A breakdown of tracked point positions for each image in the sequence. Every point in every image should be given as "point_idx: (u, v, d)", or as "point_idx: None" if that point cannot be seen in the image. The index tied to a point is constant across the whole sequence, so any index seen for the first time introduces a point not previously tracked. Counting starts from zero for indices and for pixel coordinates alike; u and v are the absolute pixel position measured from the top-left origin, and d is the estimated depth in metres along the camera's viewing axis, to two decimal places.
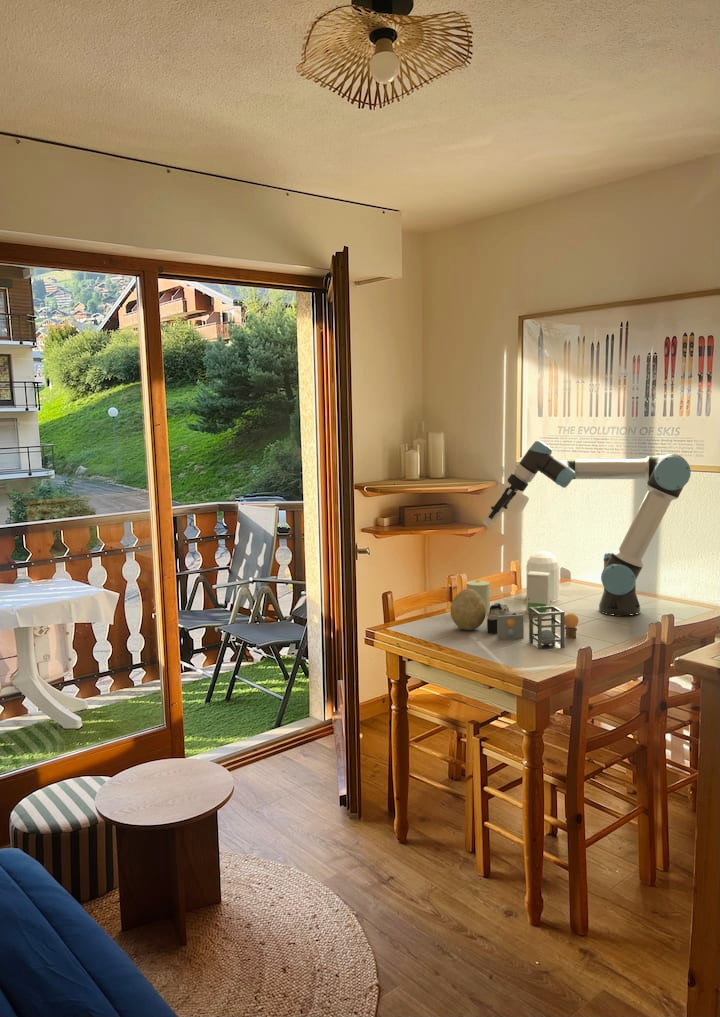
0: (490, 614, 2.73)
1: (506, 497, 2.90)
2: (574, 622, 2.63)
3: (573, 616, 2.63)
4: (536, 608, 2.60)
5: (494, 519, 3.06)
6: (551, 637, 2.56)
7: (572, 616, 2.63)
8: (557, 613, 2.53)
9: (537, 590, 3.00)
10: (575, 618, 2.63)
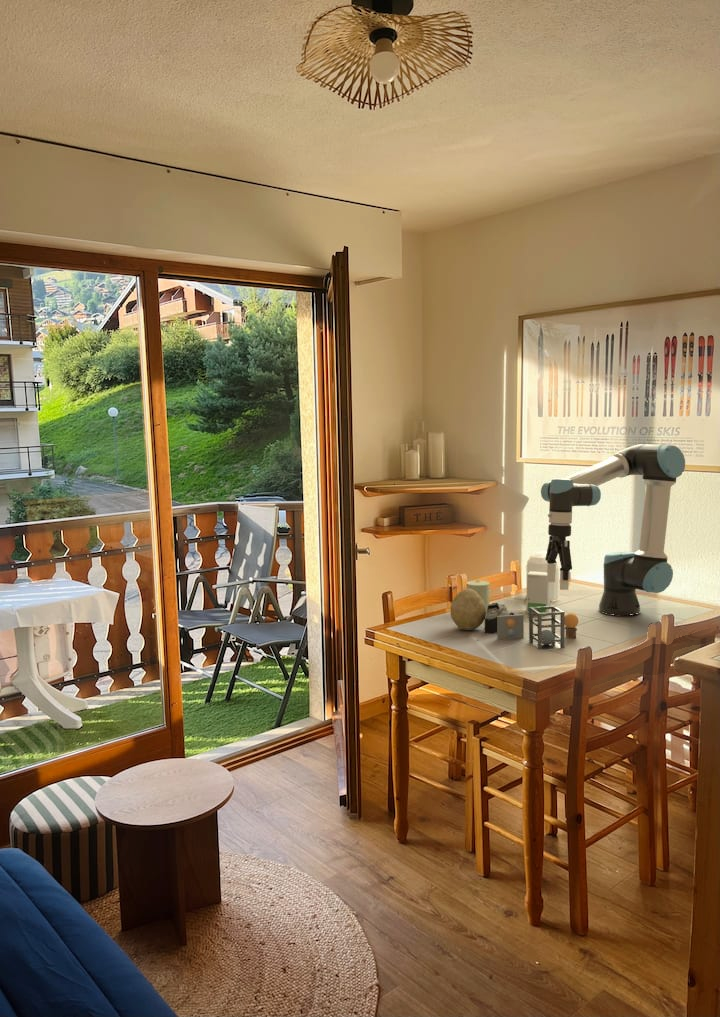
0: (487, 613, 2.74)
1: (567, 550, 2.58)
2: (574, 622, 2.63)
3: (573, 616, 2.63)
4: (536, 608, 2.60)
5: (553, 579, 2.73)
6: (551, 637, 2.56)
7: (572, 616, 2.63)
8: (557, 613, 2.53)
9: (538, 590, 3.00)
10: (575, 618, 2.63)
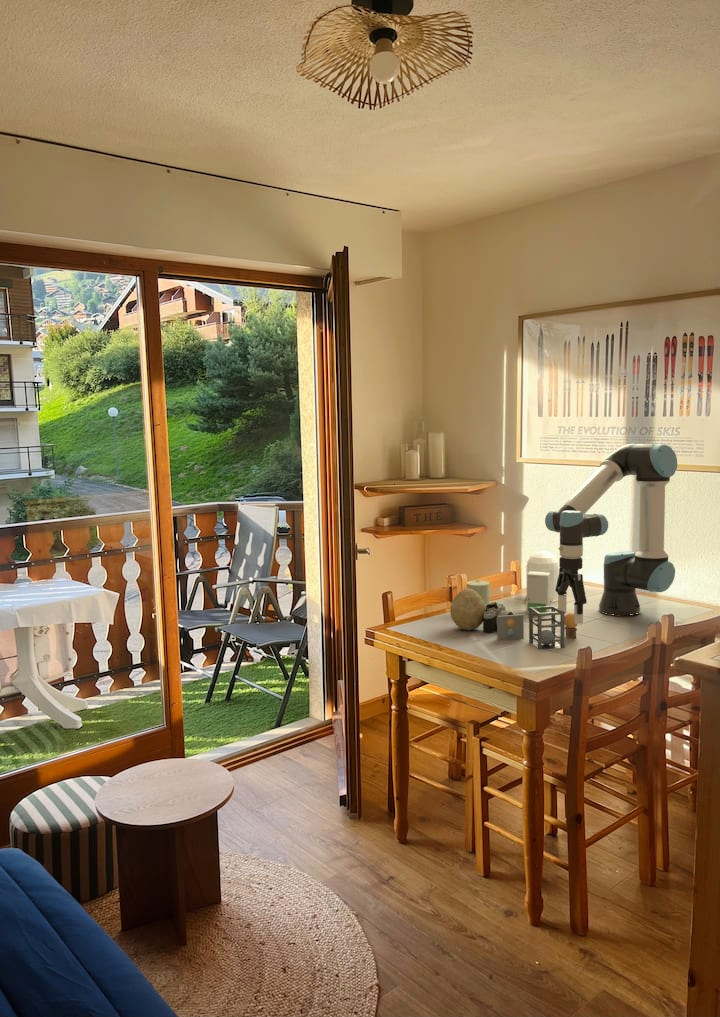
0: (486, 613, 2.75)
1: (581, 584, 2.56)
2: None
3: (573, 616, 2.63)
4: (536, 608, 2.60)
5: (564, 611, 2.71)
6: (551, 637, 2.56)
7: (572, 616, 2.63)
8: (557, 613, 2.53)
9: (537, 590, 3.00)
10: None
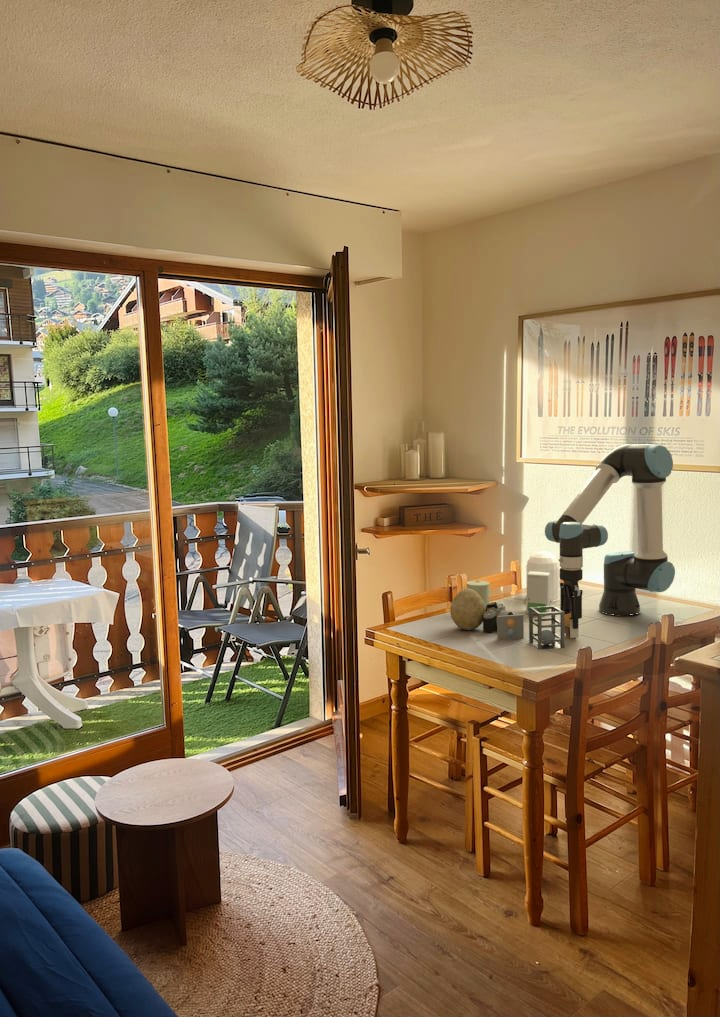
0: (486, 613, 2.75)
1: (579, 600, 2.58)
2: None
3: None
4: (536, 608, 2.60)
5: None
6: (551, 637, 2.56)
7: None
8: (557, 613, 2.53)
9: (537, 590, 3.00)
10: None
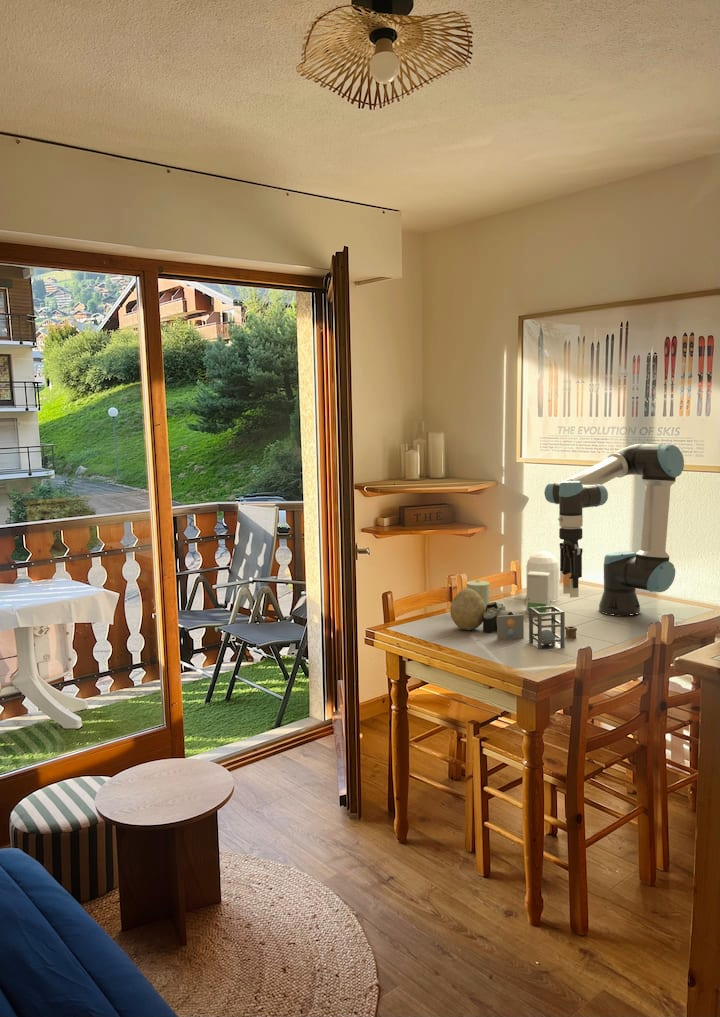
0: (486, 613, 2.75)
1: (579, 558, 2.57)
2: None
3: None
4: (536, 608, 2.60)
5: (569, 591, 2.67)
6: (551, 637, 2.56)
7: None
8: (557, 613, 2.53)
9: (537, 590, 3.00)
10: None
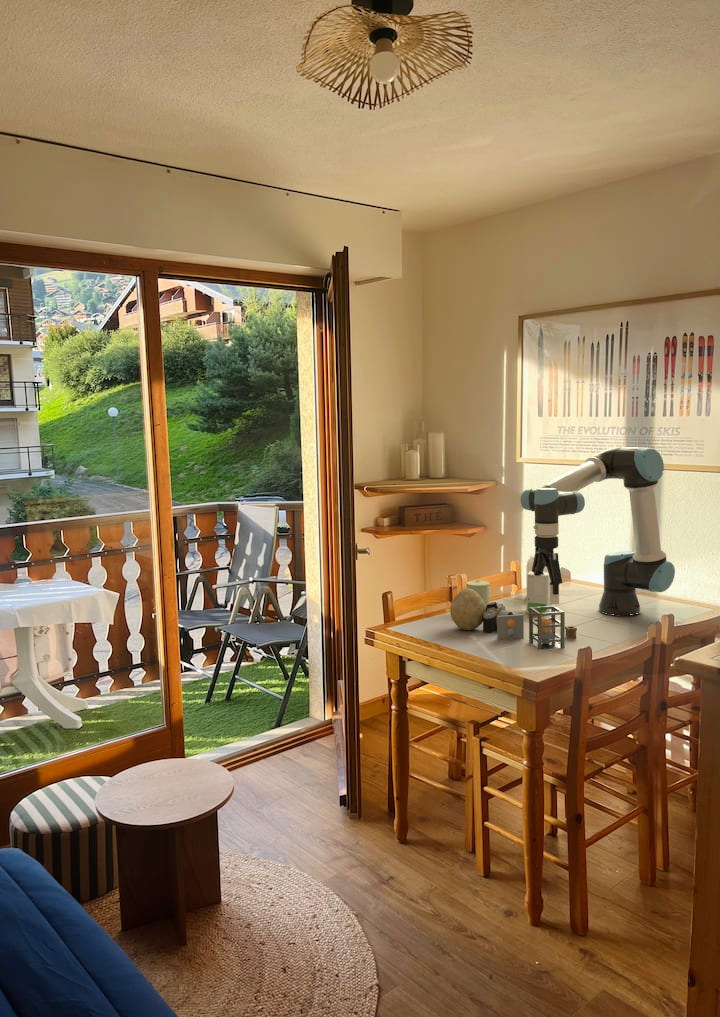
0: (486, 613, 2.75)
1: (556, 563, 2.48)
2: None
3: (548, 630, 2.54)
4: (536, 608, 2.60)
5: (541, 592, 2.63)
6: (550, 633, 2.57)
7: (547, 630, 2.55)
8: (557, 613, 2.53)
9: None
10: (549, 630, 2.55)
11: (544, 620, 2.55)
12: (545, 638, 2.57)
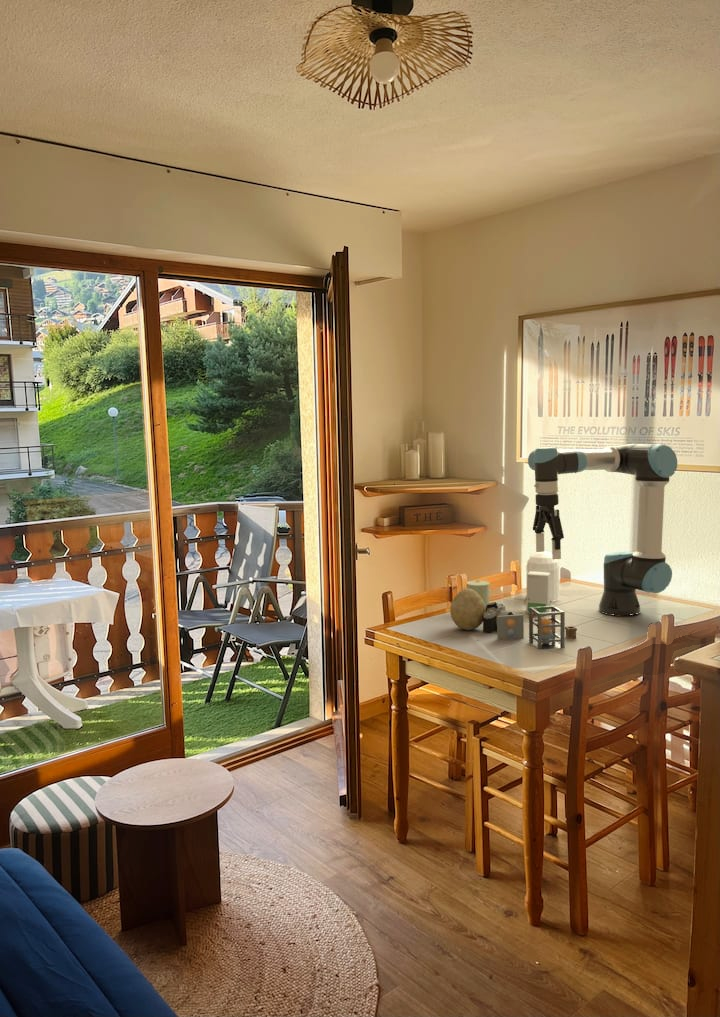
0: (486, 613, 2.75)
1: (558, 519, 2.56)
2: None
3: (548, 630, 2.54)
4: (536, 608, 2.60)
5: (542, 549, 2.71)
6: (550, 633, 2.57)
7: (547, 630, 2.55)
8: (557, 613, 2.53)
9: (538, 590, 3.00)
10: (549, 630, 2.55)
11: (544, 620, 2.55)
12: (545, 638, 2.57)
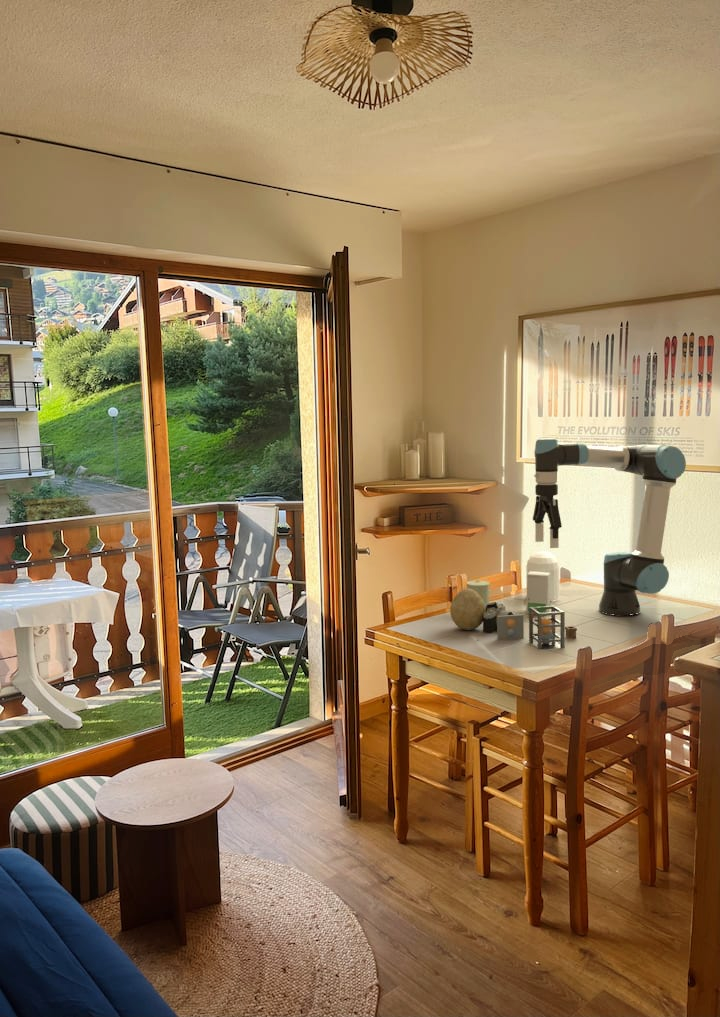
0: (486, 613, 2.75)
1: (556, 509, 2.62)
2: None
3: (548, 630, 2.54)
4: (536, 608, 2.60)
5: (541, 539, 2.77)
6: (550, 633, 2.57)
7: (547, 630, 2.55)
8: (557, 613, 2.53)
9: (537, 590, 3.00)
10: (549, 630, 2.55)
11: (544, 620, 2.55)
12: (545, 638, 2.57)
